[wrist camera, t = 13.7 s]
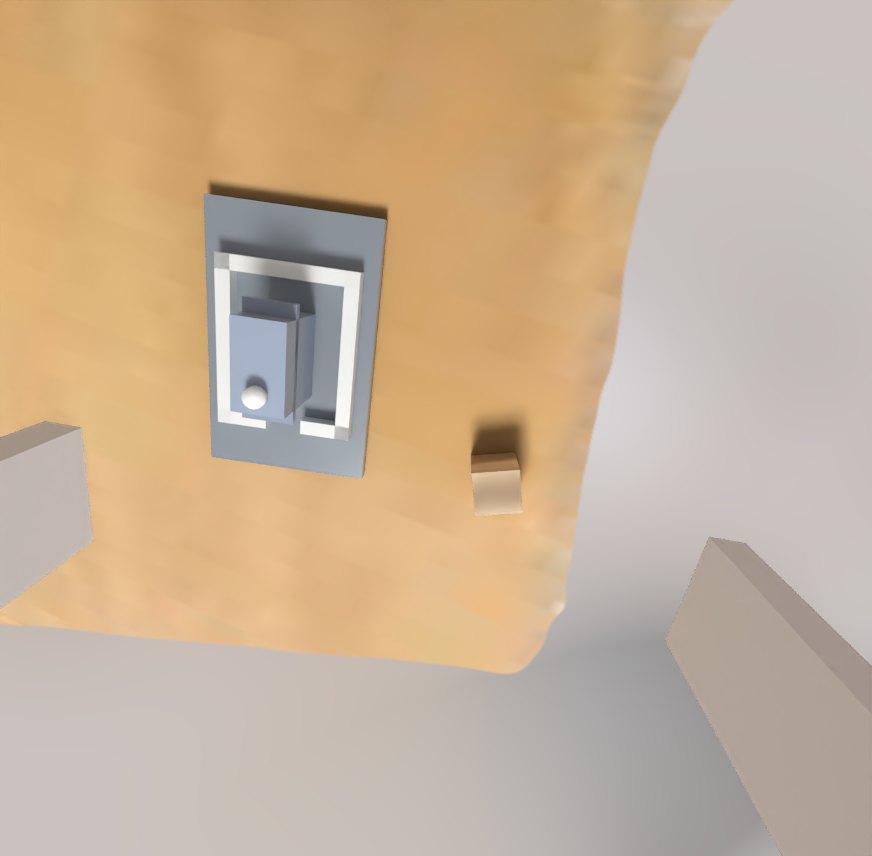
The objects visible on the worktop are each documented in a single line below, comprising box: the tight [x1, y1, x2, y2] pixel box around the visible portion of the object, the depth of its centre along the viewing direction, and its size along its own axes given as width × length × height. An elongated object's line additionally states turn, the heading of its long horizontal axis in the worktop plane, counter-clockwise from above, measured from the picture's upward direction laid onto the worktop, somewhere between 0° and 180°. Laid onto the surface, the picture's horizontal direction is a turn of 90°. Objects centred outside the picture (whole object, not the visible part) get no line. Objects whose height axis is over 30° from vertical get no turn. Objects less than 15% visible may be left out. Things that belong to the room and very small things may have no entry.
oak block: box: [471, 452, 522, 516], centre depth 41 cm, size 4×4×4 cm
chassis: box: [204, 193, 387, 479], centre depth 39 cm, size 22×14×2 cm, turn 172°
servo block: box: [229, 296, 316, 425], centre depth 35 cm, size 9×4×7 cm, turn 172°
